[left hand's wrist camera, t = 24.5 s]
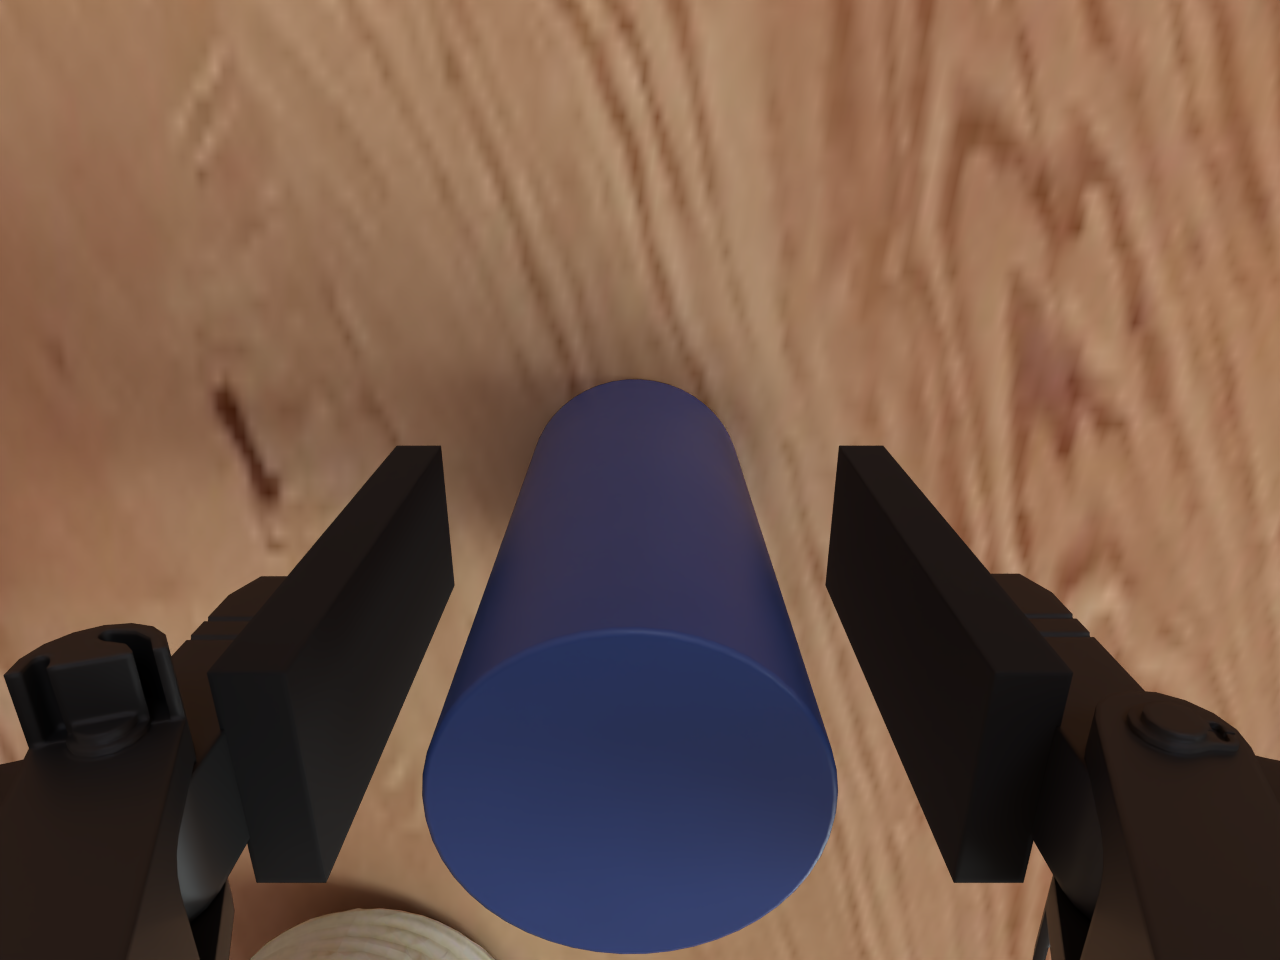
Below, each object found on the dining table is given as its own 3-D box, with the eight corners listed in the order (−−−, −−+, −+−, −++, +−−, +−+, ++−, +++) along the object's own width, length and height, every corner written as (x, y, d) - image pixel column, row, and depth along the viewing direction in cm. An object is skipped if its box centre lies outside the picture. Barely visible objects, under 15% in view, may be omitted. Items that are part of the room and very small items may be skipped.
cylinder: (777, 503, 16) (913, 849, 8) (610, 603, 17) (583, 1008, 9) (663, 336, 15) (690, 548, 7) (489, 454, 16) (332, 767, 8)
